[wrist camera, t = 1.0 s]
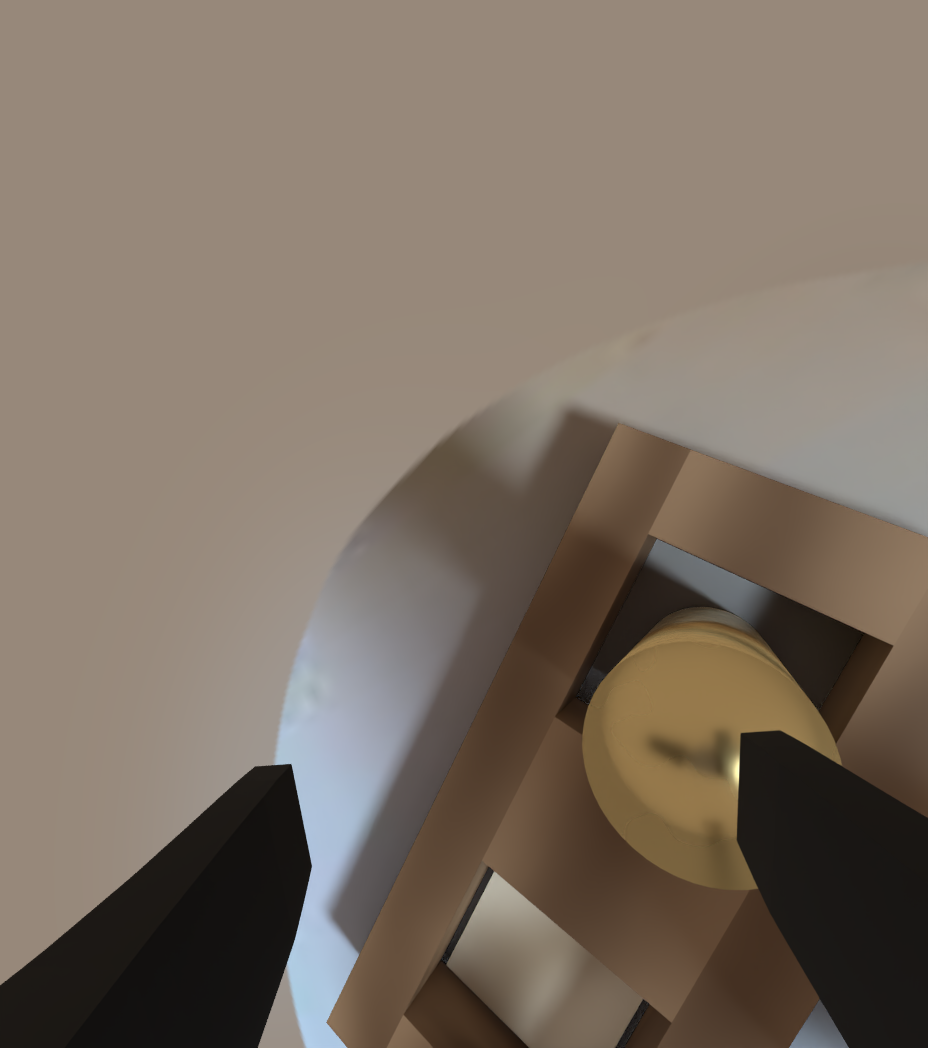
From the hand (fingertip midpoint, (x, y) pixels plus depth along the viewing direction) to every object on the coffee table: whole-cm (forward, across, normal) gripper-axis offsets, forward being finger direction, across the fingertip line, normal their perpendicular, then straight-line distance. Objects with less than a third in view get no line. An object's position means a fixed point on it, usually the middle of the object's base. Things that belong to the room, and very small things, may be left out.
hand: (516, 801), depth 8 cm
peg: (+10, -7, +4) cm, 13 cm away
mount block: (+9, -4, +10) cm, 14 cm away
